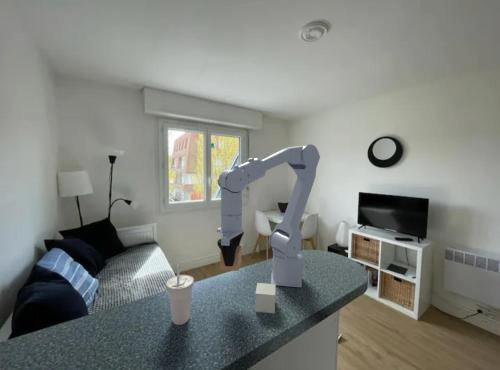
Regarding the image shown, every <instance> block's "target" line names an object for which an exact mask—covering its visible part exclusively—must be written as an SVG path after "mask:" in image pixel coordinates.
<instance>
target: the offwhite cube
mask: <svg viewBox="0 0 500 370" xmlns="http://www.w3.org/2000/svg"><path fill="white" fill-rule="evenodd" d="M254 297H255V298H254V299H255V305H254V306H255V307H254V310H255V311H254V312H255V313H265V314H276V310H275V309H276V285H275V284H271V283H265V282H264V283H263V282H257V284H256V289H255V296H254Z"/></svg>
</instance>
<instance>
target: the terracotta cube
mask: <svg viewBox="0 0 500 370" xmlns="http://www.w3.org/2000/svg"><path fill="white" fill-rule="evenodd" d="M242 247H243V246H242V245H239V246H237V249H236V253H235V259H234V264H233V266H225V264H224V259H223V255H222V252H221V250H220V252H219V255H220V257H219V259H220V261H219V263H220V265H219V268H220V270H223V271H235V272H238V271H239V270H240V267H241V264H242V263H243V262H242V259H243V258H242V256H243V255H242V254H243V253H242V251H243V248H242Z"/></svg>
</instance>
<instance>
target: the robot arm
mask: <svg viewBox="0 0 500 370" xmlns="http://www.w3.org/2000/svg"><path fill="white" fill-rule="evenodd" d="M320 158H321V155H320V153H319V150H318V148H317V147H316V146H315V145H314V144H306V145H305V144H303V145H296V146H295V145H290V146H289V147H284V148H283V149H281V150H277V152H274V153H273V154H271V155H269V156H267V157H266V158H265V157H264V158H263V159H259V158H258V157H256V158H254V157H250V158H247V161H246V162H244V163H242V164H240V165H239V164H235V165H233V169H225V170H223V171H222V172H221V173H220V174H219V177H218V179H217V184H218V187H219V188H220V190H221V191H220V226H219V227H217V229H216V232H218V233H220V235H221V237H220V238H219V239H218V240H217V242H216V244H217V247H218V248H219V250H220V251H221V252H222V255H223V259H224V264H225V266H233V264H234V259H235V253H236V249H237V246H241V240H242V238H243V236H244V231H243V225H242V224H243V191H244V190H245V188H246V186H248V185H249V184H251V183H253V182H255V181H257V180H259V179H261V178H264V177H265V175H266V172H267V171H269V170H271V169H273V168H276V167H277V166H280V165H282V164H285V163H287V164H288V166H289V167H290V168H291V170H293V172H294V173H295V175H296V180H295V184H294V185H293V189H292V192H291V194H290V197H289V200H288V203H287V207H286V209H285V213H284V215H283V218H282V221H281V222H278V223H277V224H276V225H275V227H274V230H273V231H272V232H270V235H269V237H268V244H269V246H270V247H271V249H272V250H271V251H272V271H271V275H270V276H271V277H270V284H275V286H277V287H282V286H283V287H292V288H294V287H295V288H302V287H303V285H302V284H303V255H302V254H300V251H301V249H302V240H303V234H302V232H301V230H300V224H301V222H302V218H303V216H304V212H305V209H306V206H307V203H308V201H309V197H310V195H311V192H312V188H313V186H314V183H315V179H316V177H317V167H318V165H319V162H320V160H321V159H320Z"/></svg>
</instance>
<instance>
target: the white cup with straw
mask: <svg viewBox="0 0 500 370" xmlns="http://www.w3.org/2000/svg"><path fill="white" fill-rule="evenodd" d="M165 283H166V284H165V290H166V291H167V294H168V300H169V305H170V312H171V318H172V323H173V324H175V326H176V325H178V326H179V325H184V324H186V323H187V322H188V321H189V318H190V310H191V304H192V303H191V302H192V293H193V287H194V285H195V279H194V277H193V276H192V275H188V274H180V264H176V275H175V276H173V277H170V278H169V279H168V280H167V281H166V282H165Z"/></svg>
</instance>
